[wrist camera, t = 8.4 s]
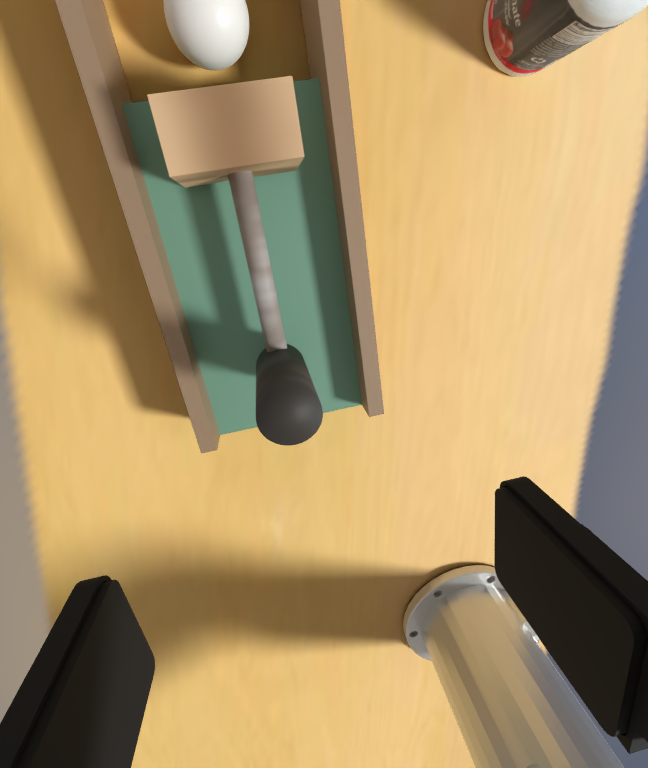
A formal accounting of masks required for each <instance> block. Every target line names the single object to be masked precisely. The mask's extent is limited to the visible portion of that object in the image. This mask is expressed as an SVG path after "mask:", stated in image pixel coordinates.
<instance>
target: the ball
mask: <svg viewBox="0 0 648 768" xmlns="http://www.w3.org/2000/svg"><path fill="white" fill-rule="evenodd" d="M164 14H165V19H166V23H167V26H168V29H169V32H170V34H171V37H172V39H173V40H174V42H175V44H176V45H177V47H178V49H179V50H180V51H181V52H182V53H183V55H184V56H185V57H186V58H187V59H189V60H190V61H191V62H192V63H194V64H195V65H197V66H199V67H201V68H204V69H207V70H215V71H216V70H223V69H226V68H228V67H230V66H231V65H233V64H234V63H235V62H236V61H237V60H238V59H239V58H240V57H241V55H242V53H243V51H244V49H245V47H246V44H247V41H248V36H249V14H248V9H247V4H246V1H245V0H164Z"/></svg>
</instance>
